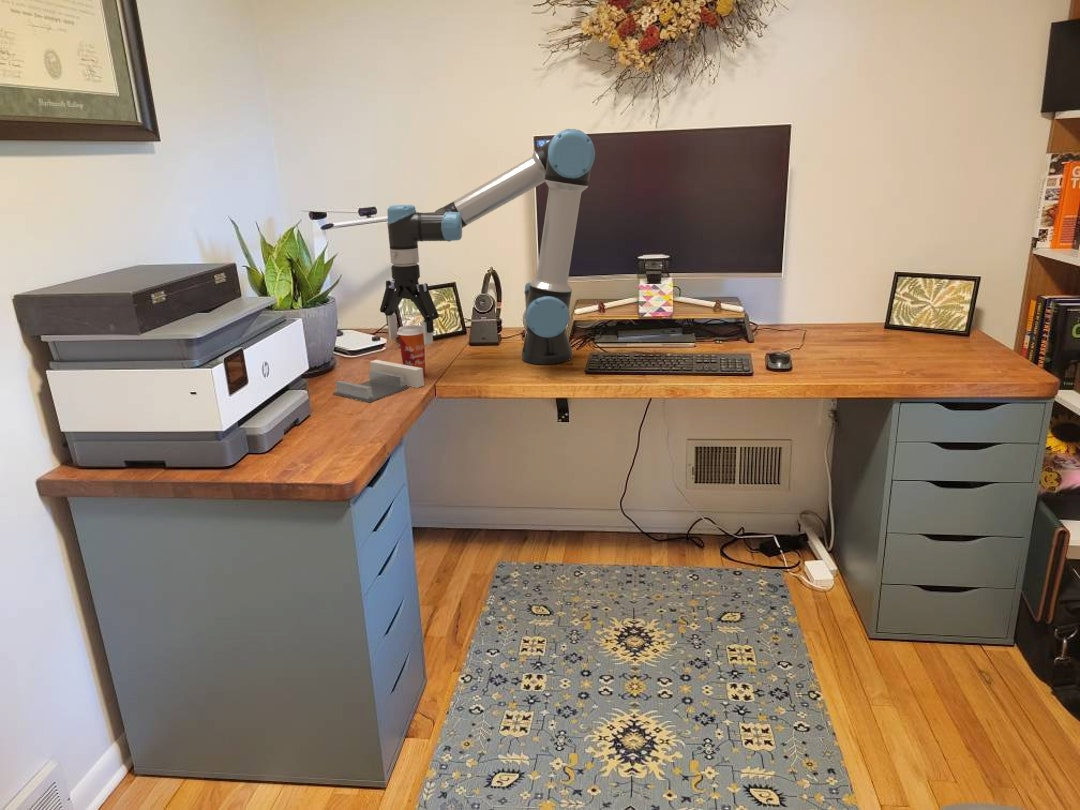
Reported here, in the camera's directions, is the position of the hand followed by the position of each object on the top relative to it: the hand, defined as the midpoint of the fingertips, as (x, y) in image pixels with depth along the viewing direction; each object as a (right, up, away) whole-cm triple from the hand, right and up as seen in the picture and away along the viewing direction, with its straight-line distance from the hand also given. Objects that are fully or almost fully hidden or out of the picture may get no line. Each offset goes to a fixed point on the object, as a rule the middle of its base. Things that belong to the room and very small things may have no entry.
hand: (410, 341), depth 214 cm
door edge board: (-3, -12, -2) cm, 12 cm away
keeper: (-9, -14, -9) cm, 19 cm away
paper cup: (+1, -10, +3) cm, 10 cm away
